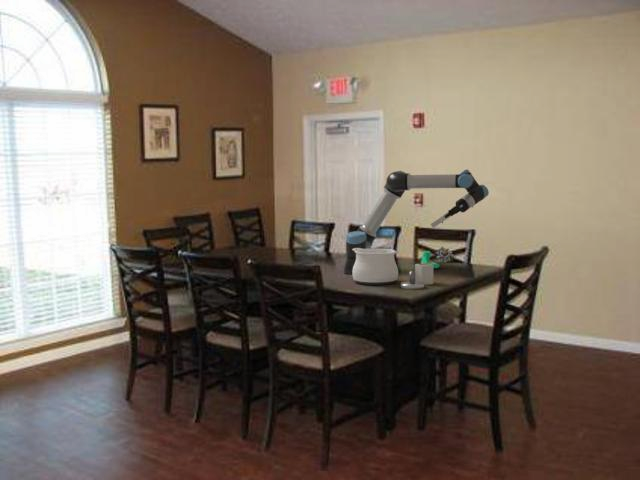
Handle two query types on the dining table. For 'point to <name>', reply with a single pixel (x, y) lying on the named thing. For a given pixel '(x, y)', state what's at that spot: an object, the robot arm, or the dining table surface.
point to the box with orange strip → (424, 273)
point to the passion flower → (444, 254)
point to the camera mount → (426, 258)
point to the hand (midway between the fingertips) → (435, 223)
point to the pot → (375, 266)
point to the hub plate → (410, 286)
